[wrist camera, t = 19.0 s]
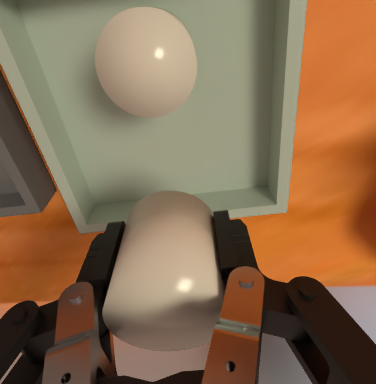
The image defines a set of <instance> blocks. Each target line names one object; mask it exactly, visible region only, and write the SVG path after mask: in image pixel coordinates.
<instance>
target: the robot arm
mask: <svg viewBox="0 0 376 384" xmlns="http://www.w3.org/2000/svg"><path fill="white" fill-rule="evenodd" d="M213 216H214V223H215V231H216V238H217V245H218V253H219V260H220V267H221V275H222V280H223V282H224V286H225V296H224V301H223V305H222V310H221V314H220V319H219V321H218V322H216V324H215V327H214V331H213V335H212V339H211V344H210V348H209V353H208V357H207V361H206V366H205V370H196V371H183V372H180V373H177V374H174V375H171V376H169V377H166V378H163V379H160V380H158V381H155V382H149V381H145V380H141V379H137V378H133V377H129V376H118V375H117V371H116V365H115V354H114V343H113V334H112V333H111V332H110V330H109V329H108V328H107V327H106V325H105V323H104V320H103V316H102V310H103V306H104V303H105V299H106V295H107V292H108V288H109V284H110V281H111V277H112V274H113V270H114V266H115V263H116V259H117V255H118V252H119V248H120V244H121V241H122V237H123V234H124V230H125V226H126V223H125V222H124V221H118V222H109V223H108V224H107V227H106V230H105V233H101V234H98V235H97V237H96V238H95V239H94V240H93V241H92V243H91V245H90V248H89V251H88V253H87V255H86V258H85V260H84V263H83V265H82V268H81V270H80V273H79V275H78V278H77V280H76V283H75V284H72V285H71V286H69V287H68V288H66V289H65V290H64V291H63V293H62V294H61V296H60V298H59V299H58V300H56V301H54V302H51V303H48V304H45V305H43V306H40V307H39V306H38V305H37V304H36V303H35V302H34V301H23V302H20V303H18V304H16V305H15V306H13V307H12V308H11V309H9V310H8V311H7V312H6V313H5V314H4V316H3V317H2V318H1V319H0V380H1V378H2V377H3V375H4V374H5V373H6V371H7V370H8V369H9V367H10V365H12V363H13V362H14V360H15V359H16V358H17V356H18V355H19V353H20V352H22V356H21V357H20V358H19V360H18V361H17V363H16V364H15V365H14V367H13V368H12V370H11V371H10V372H9V374H8V375H7V377H6V378H5V379H4V381H3V382H2V383H1V384H258V382H259V367H260V355H261V342H262V333H266V334H270V335H274V336H279V337H282V338H285V340H286V341H287V343H288V345H289V346H290V348H291V349H292V351H293V353H294V354H295V356H296V358H297V359H298V361H299V362H300V364H301V366H302V367H303V369H304V371H305V372H306V374H307V375H308V377H309V379H310V380H311V382H312V383H313V384H376V344H375V343H374V342H373V341H372V340H371V339H370V337H369V336H368V335H367V334H366V333H365V332H364V331H363V330H362V328H361V327H360V326H359V325H358V324H357V323H356V322H355V321H354V319H353V318H352V317H351V316H350V315H349V314H348V313H347V312H346V311H345V309H344V308H343V307H342V306H341V305H340V304H339V303H338V301H337V300H336V299H335V298H334V297H333V296H332V295H331V294H330V293H329V291H328V290H327V289H326V288H325V287H324V286H323V285H322V284H321V283H320V282H319V281H317V280H315V279H313V278H310V277H305V276H300V277H296V278H293V279H292V280H291V281H290V282H289V283H285V282H279V281H275V280H272V279H269V278H267V277H266V276H264V275H263V274H262V273H261V272H260V270H259V268H258V266H257V262H256V259H255V255H254V252H253V248H252V245H251V242H250V237H249V234H248V230H247V227H246V225H245V224H244V223H243V222H242V221H241V220H240V219H236V220H230V218H229V213H228V210H222V211H213Z"/></svg>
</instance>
